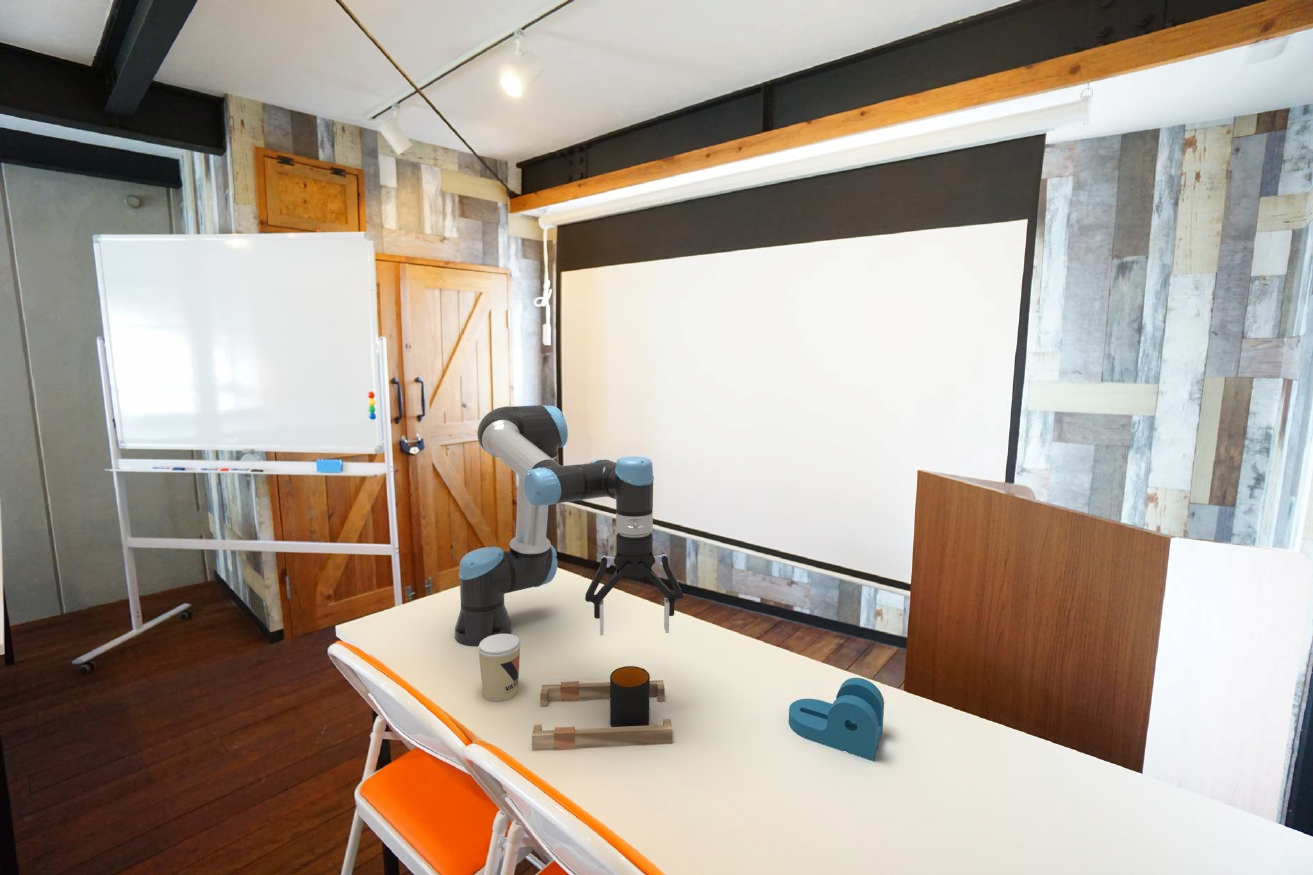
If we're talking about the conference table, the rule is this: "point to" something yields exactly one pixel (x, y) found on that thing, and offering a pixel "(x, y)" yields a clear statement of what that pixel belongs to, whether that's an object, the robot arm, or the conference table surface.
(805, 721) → the camera mount
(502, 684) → the coffee cup
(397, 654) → the conference table surface
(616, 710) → the mug
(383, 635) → the conference table surface
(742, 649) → the conference table surface
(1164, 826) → the conference table surface
